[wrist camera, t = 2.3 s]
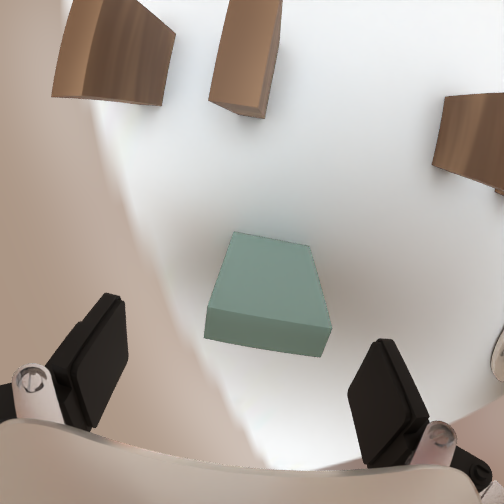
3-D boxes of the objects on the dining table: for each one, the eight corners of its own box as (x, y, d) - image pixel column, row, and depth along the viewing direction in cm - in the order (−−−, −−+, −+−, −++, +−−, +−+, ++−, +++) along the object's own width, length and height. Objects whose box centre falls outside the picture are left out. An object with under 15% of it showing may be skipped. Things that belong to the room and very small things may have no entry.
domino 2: (279, 44, 15) (284, -22, 7) (264, 118, 17) (257, 107, 9) (252, 39, 15) (237, -27, 7) (238, 114, 17) (208, 100, 9)
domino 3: (234, 231, 20) (207, 306, 12) (309, 246, 20) (332, 328, 12) (230, 253, 21) (203, 338, 12) (303, 267, 21) (320, 357, 12)
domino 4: (462, 105, 15) (554, 108, 7) (449, 171, 17) (537, 206, 9) (445, 96, 15) (536, 92, 7) (431, 164, 17) (519, 196, 9)
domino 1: (175, 33, 15) (110, -21, 7) (161, 105, 17) (81, 95, 9) (153, 34, 15) (78, -14, 7) (139, 104, 17) (51, 97, 9)
